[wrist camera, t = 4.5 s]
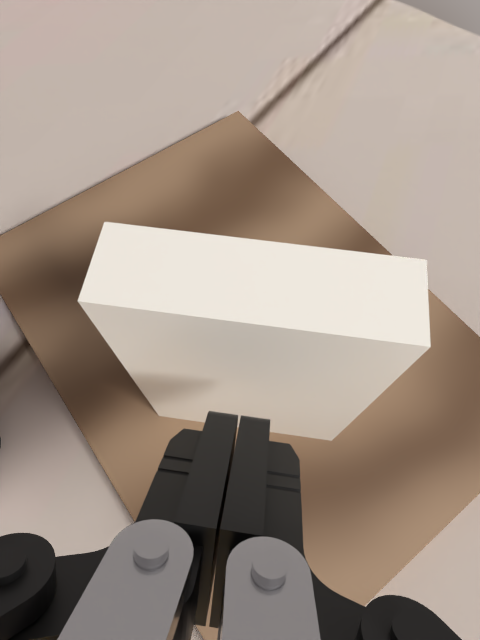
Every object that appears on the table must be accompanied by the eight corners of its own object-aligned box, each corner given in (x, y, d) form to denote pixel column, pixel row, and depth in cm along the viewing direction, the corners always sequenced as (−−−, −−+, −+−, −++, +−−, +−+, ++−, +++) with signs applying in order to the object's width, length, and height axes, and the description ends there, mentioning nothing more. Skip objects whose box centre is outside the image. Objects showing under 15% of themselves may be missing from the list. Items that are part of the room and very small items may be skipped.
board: (-16, 260, 22) (-26, 249, 21) (238, 125, 26) (238, 110, 25) (249, 705, 15) (250, 717, 14) (545, 419, 19) (561, 413, 18)
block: (331, 440, 18) (430, 346, 8) (159, 415, 18) (77, 301, 9) (334, 391, 18) (426, 258, 9) (169, 368, 19) (105, 219, 10)
